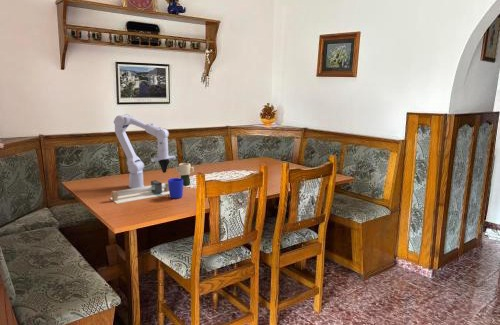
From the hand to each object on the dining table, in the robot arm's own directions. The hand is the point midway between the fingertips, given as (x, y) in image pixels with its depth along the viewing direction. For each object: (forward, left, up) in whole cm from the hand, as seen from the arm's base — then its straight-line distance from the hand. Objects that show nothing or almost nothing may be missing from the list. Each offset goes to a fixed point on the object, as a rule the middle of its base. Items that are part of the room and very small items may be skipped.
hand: (164, 172), depth 236 cm
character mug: (-1, +14, -10) cm, 17 cm away
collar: (+7, -8, -10) cm, 15 cm away
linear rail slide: (+7, -17, -10) cm, 21 cm away
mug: (+19, -2, -10) cm, 22 cm away
